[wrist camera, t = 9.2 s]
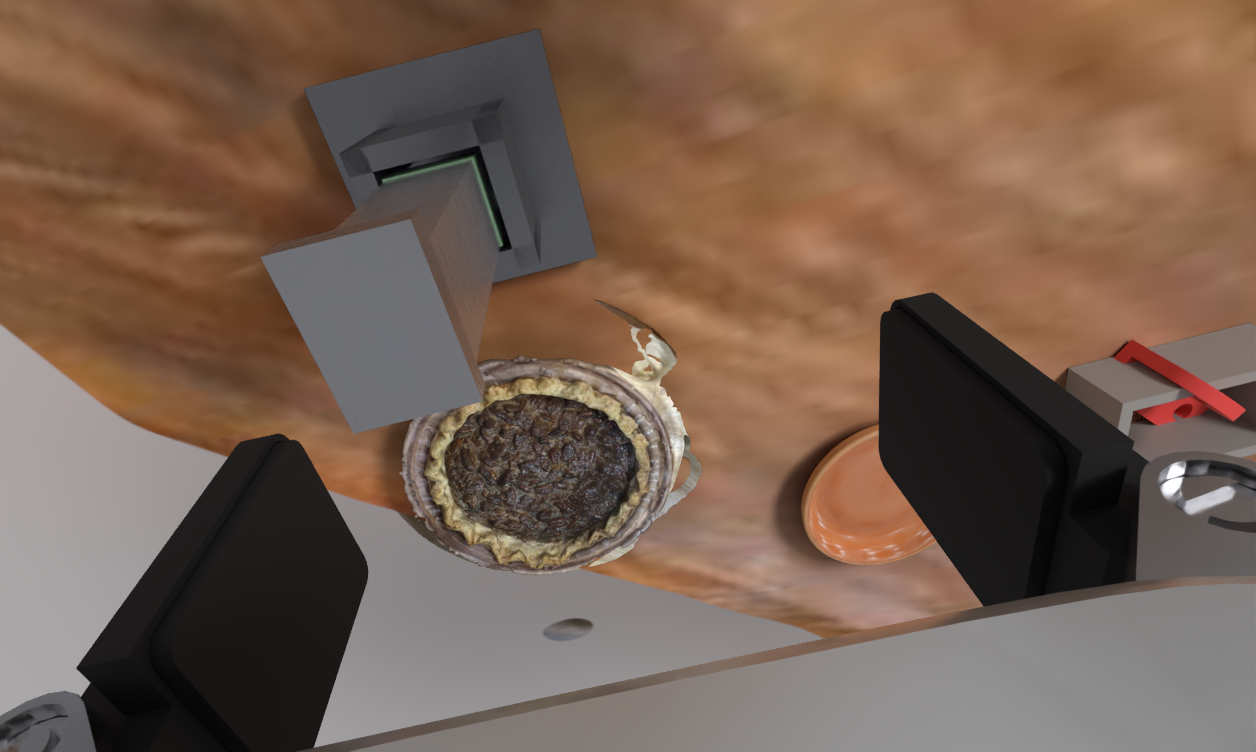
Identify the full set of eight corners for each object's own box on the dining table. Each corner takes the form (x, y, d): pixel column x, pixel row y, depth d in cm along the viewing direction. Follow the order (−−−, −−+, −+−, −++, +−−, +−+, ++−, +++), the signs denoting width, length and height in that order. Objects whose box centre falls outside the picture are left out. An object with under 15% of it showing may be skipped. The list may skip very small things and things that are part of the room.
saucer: (952, 527, 63) (969, 548, 61) (794, 558, 63) (805, 581, 60) (970, 390, 56) (990, 408, 53) (790, 425, 55) (802, 445, 53)
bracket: (1089, 380, 56) (1166, 432, 49) (1132, 339, 54) (1217, 388, 48) (1165, 430, 60) (1245, 485, 53) (1206, 394, 59) (1294, 446, 52)
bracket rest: (1068, 367, 55) (1123, 403, 50) (1249, 322, 55) (1323, 354, 50) (1056, 450, 60) (1105, 490, 54) (1224, 408, 60) (1289, 445, 54)
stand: (314, 85, 39) (236, 106, 29) (539, 28, 39) (537, 29, 29) (404, 295, 46) (365, 369, 36) (595, 247, 45) (608, 308, 36)
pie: (549, 610, 63) (549, 653, 58) (296, 460, 52) (272, 499, 48) (767, 429, 55) (786, 463, 51) (525, 209, 44) (522, 228, 40)
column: (378, 155, 34) (243, 261, 19) (472, 131, 34) (413, 218, 19) (423, 268, 37) (339, 437, 22) (509, 247, 37) (485, 401, 22)
